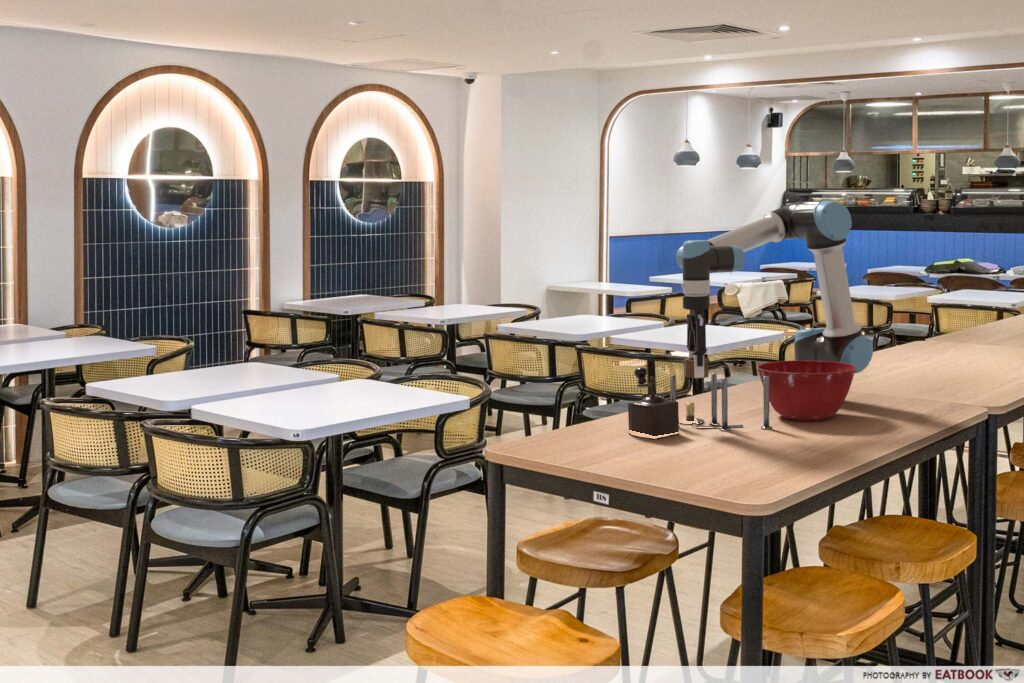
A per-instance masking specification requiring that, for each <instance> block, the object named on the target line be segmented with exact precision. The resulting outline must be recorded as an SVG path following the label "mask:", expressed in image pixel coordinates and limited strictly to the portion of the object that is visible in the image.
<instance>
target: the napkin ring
mask: <svg viewBox="0 0 1024 683" xmlns="http://www.w3.org/2000/svg"><path fill="white" fill-rule="evenodd" d="M683 370H684V371H683V373H684V374H683V375H684V378H688V379H695V378H694V358H689V357H688V358H683ZM708 377H709V359H708V358H706V357H704V378H703V379H705V378H708Z"/></svg>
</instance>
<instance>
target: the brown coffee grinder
mask: <svg viewBox="0 0 1024 683" xmlns="http://www.w3.org/2000/svg"><path fill="white" fill-rule="evenodd" d="M633 373H634V376H635V377H636V378H637V385H636V388H647V387H650V394H649V395H647V396H645V397H643V398H642V399H641V400H636V401H632V402H629V403H627V404H628V405H627V412H628V415H627V417H628V418H627V419H628V431H629V430H632V431H636V432H640V433H645V434H649V435H652V436H658V435H664V434H670V433H675V432H679V430H680V428H679V427H680V424H679V419H680V417H679V414H680V413H679V402H678V401H676V402H675V401H671V399H669V398H665V397H664V396H663V393H662V392H661V393H659V394H656V393H655V384H656V382H655V380H656V378H655V377H654V376H651V377H650V378H649V381H650V382H649V383H647V382H648V380H647V379H646V377H647V375H648V370H647V368H646V367H638V368H636V369H634V371H633ZM679 433H680V432H679Z"/></svg>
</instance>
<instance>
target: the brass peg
mask: <svg viewBox="0 0 1024 683" xmlns="http://www.w3.org/2000/svg"><path fill="white" fill-rule="evenodd" d="M685 411H686V412H685V418H686V421H694V418H696V419H697V421H698V423H700V422H704V423H705V419H702V418H697V417H695V402H691V401H689V402H685Z"/></svg>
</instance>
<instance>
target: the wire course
mask: <svg viewBox="0 0 1024 683" xmlns="http://www.w3.org/2000/svg"><path fill="white" fill-rule="evenodd" d="M669 376H670V377H669V380H670V382H669V384H670V386H669V387H670V388H669V390H670V395H669V396H670V401H675V402H677V382H676V381H677V376H676V374H675V375H674V374H671V375H669ZM717 376H718V374H717V373H715V372H714V373H710V384H711V385H710V388H711V390H710V391H711V392H710V393H711V395H710V397H711V402H710V403H711V422H709V424H720V422H718V386H717V385H718V383H717V382H718V381H717V380H718V378H717ZM762 387H763V388H762V389H763V391H762V392H763V393H762V394H763V396H762V397H763V426H760V428H761V430H773V427H772V426H770V401H769V376H763V384H762ZM728 406H729V405H728V377H721V424H720V425H717V426H712V425H709V424H708V425H706V426H703V425H702V426H701V425H699V424H698V425H697V424H696V423H692V424H694V425H695V426H696V427H722V428H719V431H720V430H725V431H724V432H729V431H728V430H730V431H731V428H728V427H736V428H744V425H743V424H730V425H728V424H729V422H728V420H729V418H728V413H729V412H728V410H729V407H728Z"/></svg>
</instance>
